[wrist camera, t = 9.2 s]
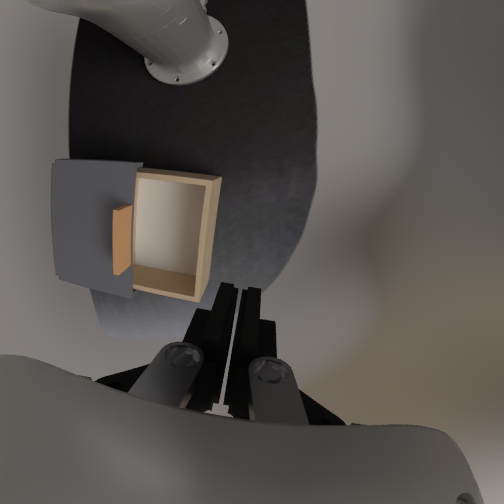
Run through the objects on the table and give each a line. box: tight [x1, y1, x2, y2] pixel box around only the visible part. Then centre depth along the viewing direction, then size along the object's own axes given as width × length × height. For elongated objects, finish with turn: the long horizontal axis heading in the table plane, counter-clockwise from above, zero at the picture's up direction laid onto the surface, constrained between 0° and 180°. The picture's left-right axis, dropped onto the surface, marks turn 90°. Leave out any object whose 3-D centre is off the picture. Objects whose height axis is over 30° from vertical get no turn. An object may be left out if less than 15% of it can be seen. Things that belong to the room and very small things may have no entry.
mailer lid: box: [51, 159, 143, 299], centre depth 33 cm, size 18×14×6 cm
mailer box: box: [133, 167, 222, 302], centre depth 37 cm, size 16×13×7 cm
